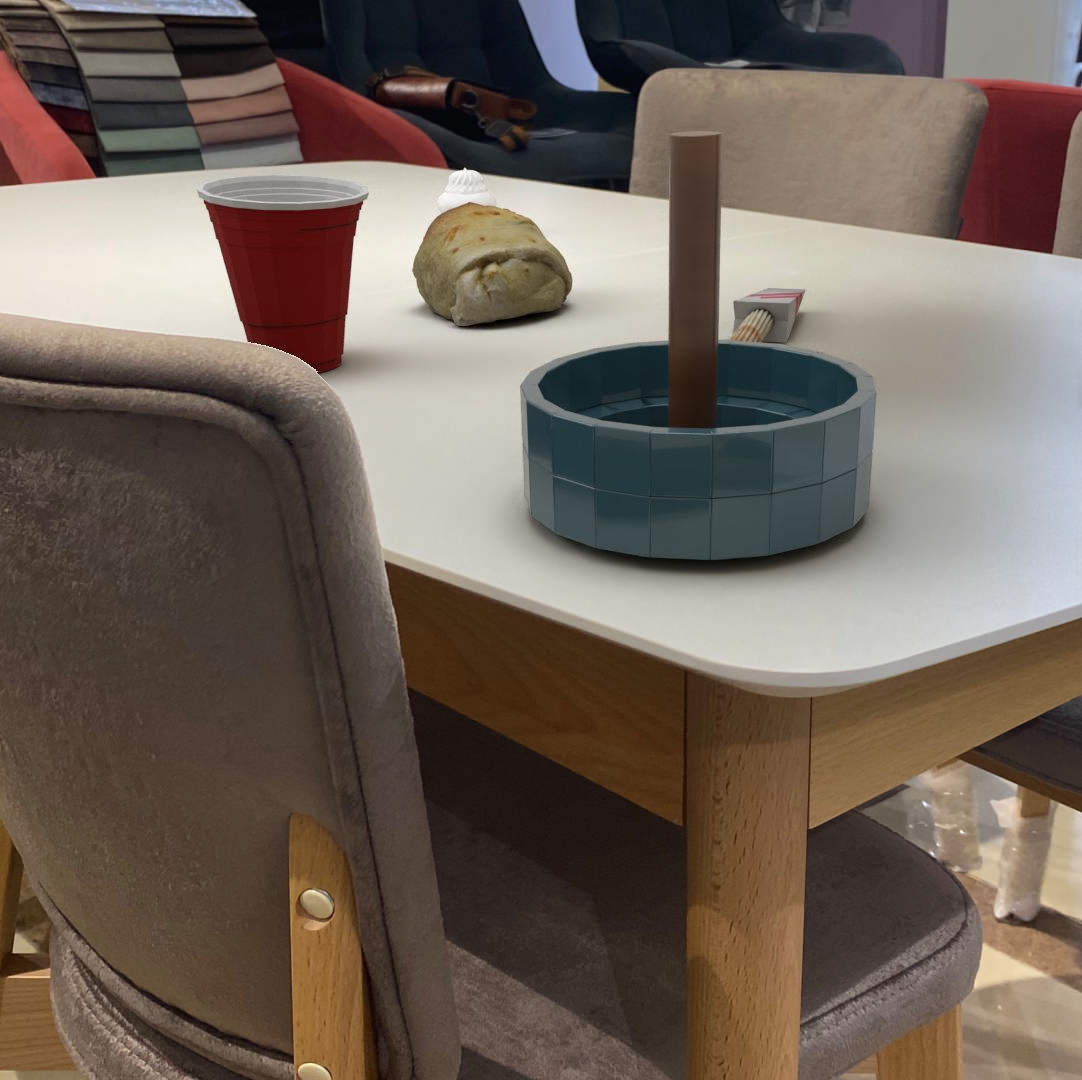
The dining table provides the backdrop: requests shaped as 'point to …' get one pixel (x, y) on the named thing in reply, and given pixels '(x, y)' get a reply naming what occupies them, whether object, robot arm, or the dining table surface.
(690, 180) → the stirrer
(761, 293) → the box of toothpicks
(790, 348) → the bowl
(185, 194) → the dining table surface
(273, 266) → the plastic cup
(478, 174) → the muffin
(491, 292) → the pastry
